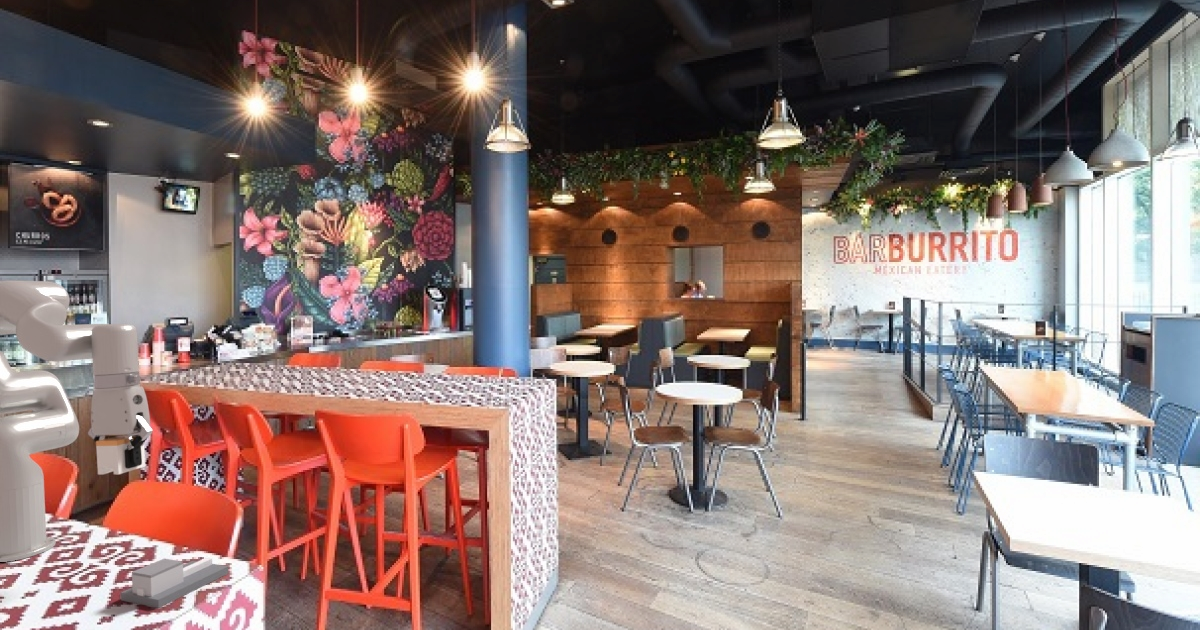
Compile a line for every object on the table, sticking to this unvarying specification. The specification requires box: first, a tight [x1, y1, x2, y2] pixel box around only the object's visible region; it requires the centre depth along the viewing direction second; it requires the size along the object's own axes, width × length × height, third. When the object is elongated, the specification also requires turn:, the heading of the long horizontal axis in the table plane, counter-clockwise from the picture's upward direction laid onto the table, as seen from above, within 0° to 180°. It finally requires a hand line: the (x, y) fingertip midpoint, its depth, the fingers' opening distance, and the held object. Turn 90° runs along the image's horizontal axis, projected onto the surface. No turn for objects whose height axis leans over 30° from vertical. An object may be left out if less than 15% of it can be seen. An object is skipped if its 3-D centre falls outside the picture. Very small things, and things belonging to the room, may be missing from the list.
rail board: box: [120, 557, 229, 609], centre depth 115 cm, size 10×14×6 cm
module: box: [95, 436, 146, 475], centre depth 123 cm, size 5×6×7 cm
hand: (122, 465), depth 123 cm, fingers closed on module, 5 cm apart
